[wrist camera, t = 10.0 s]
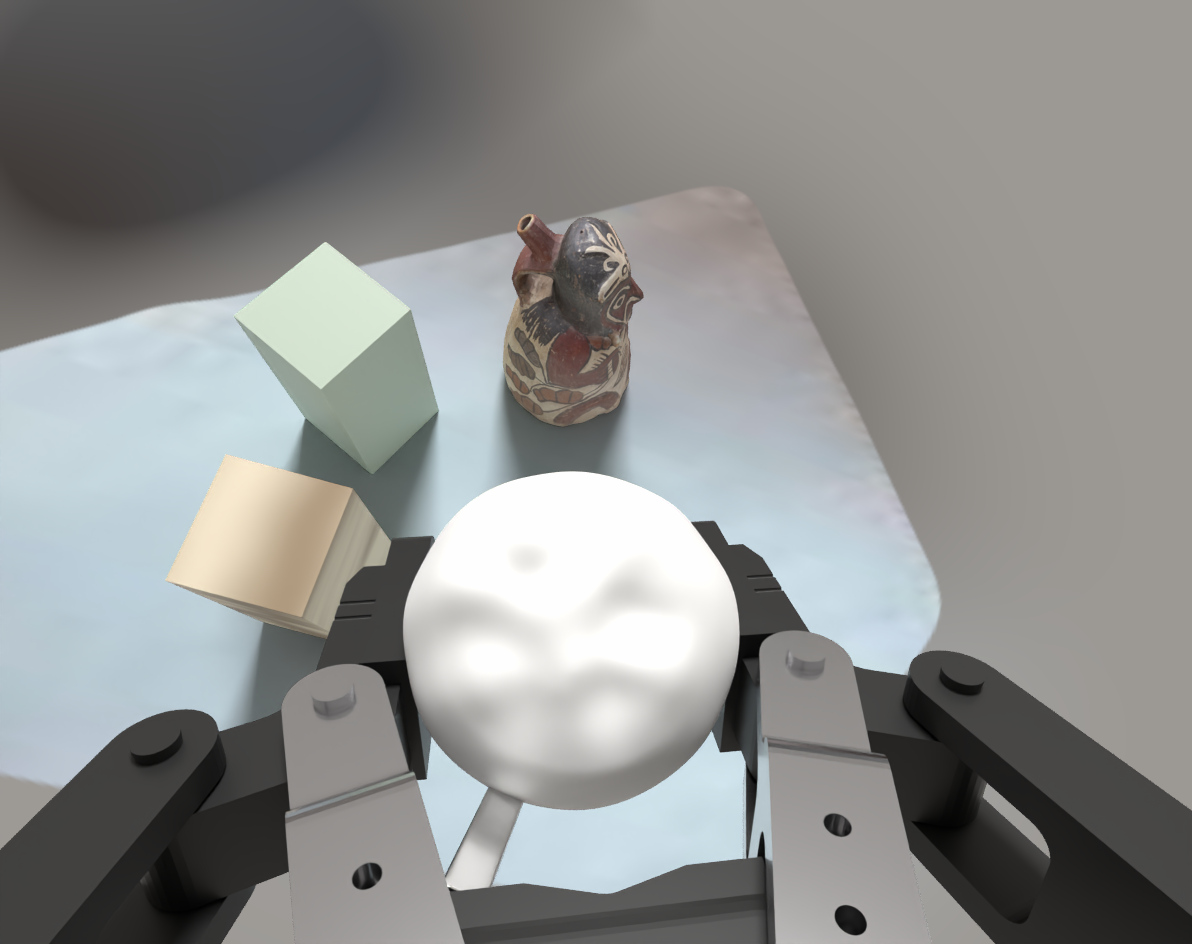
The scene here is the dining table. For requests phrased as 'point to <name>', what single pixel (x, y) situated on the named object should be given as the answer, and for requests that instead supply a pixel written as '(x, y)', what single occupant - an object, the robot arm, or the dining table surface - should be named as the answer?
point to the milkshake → (566, 649)
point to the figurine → (570, 321)
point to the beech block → (278, 545)
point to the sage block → (344, 355)
